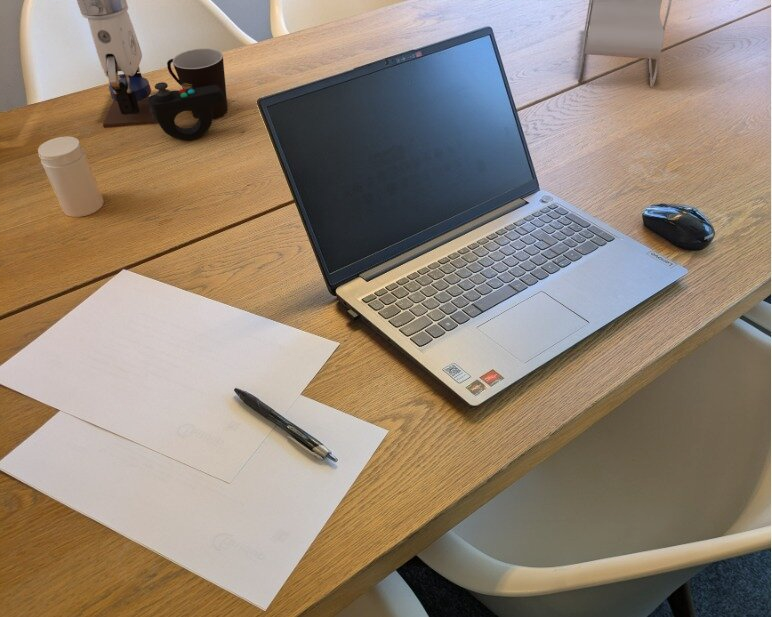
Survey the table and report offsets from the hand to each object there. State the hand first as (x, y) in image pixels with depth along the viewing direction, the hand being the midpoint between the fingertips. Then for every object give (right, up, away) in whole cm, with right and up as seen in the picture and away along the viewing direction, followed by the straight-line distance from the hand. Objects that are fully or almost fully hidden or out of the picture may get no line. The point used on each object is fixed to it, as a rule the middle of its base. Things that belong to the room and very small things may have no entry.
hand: (134, 103), depth 121 cm
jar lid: (0, +2, -2) cm, 3 cm away
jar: (0, -22, -21) cm, 30 cm away
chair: (+92, +11, +10) cm, 93 cm away
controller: (+13, -8, -6) cm, 16 cm away
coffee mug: (+13, -1, +1) cm, 13 cm away
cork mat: (0, -1, +1) cm, 2 cm away
